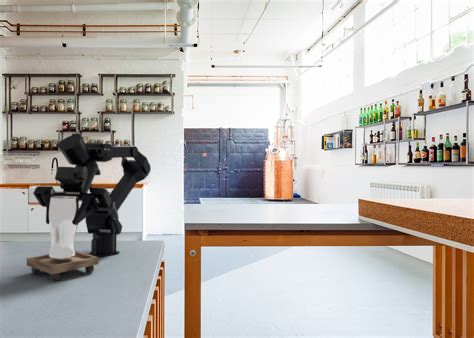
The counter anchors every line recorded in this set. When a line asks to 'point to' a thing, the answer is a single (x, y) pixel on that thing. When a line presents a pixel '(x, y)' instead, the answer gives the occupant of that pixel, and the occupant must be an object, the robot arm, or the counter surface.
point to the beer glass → (62, 226)
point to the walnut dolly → (62, 264)
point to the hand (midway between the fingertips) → (61, 223)
